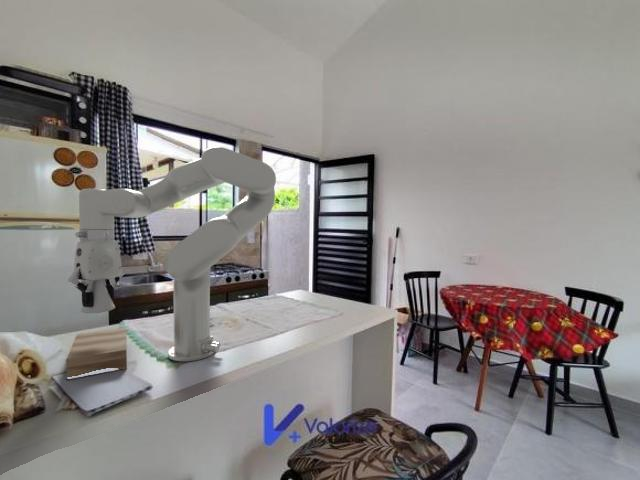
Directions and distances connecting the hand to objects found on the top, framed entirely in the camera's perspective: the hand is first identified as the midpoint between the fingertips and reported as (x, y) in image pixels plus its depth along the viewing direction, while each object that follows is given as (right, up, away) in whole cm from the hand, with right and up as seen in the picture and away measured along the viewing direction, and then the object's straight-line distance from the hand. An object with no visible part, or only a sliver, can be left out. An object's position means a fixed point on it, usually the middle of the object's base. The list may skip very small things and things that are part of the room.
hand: (98, 303), depth 86 cm
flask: (0, -2, 0) cm, 2 cm away
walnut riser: (0, -15, +1) cm, 15 cm away
